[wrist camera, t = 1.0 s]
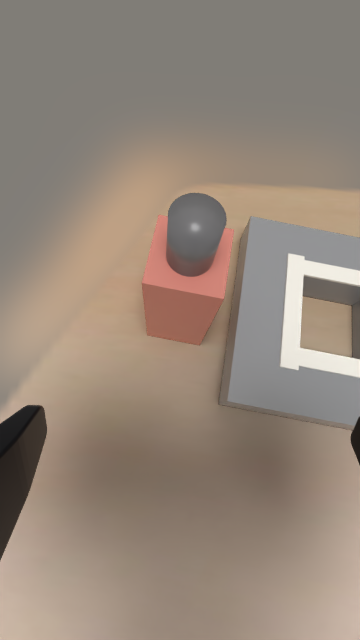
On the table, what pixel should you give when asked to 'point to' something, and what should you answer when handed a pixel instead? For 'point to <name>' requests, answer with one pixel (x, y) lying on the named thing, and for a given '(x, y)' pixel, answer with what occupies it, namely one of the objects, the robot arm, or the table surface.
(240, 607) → the table surface
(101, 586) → the table surface
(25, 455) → the robot arm
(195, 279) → the plug
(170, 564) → the table surface
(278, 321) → the socket plate
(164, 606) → the table surface
